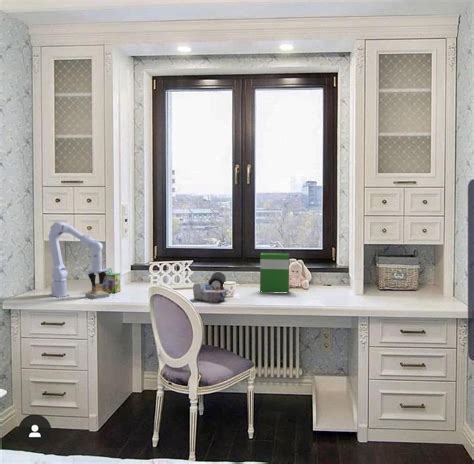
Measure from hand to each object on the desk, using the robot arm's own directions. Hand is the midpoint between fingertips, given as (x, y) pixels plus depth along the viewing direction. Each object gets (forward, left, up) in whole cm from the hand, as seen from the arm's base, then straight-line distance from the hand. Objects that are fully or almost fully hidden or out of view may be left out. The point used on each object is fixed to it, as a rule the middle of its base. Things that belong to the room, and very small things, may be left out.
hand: (97, 285), depth 346 cm
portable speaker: (+31, +69, -7) cm, 76 cm away
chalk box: (-8, +15, -7) cm, 18 cm away
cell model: (+54, +42, -7) cm, 68 cm away
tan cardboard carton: (0, 0, -5) cm, 5 cm away
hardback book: (+62, +89, -7) cm, 109 cm away
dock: (0, 0, -7) cm, 7 cm away
